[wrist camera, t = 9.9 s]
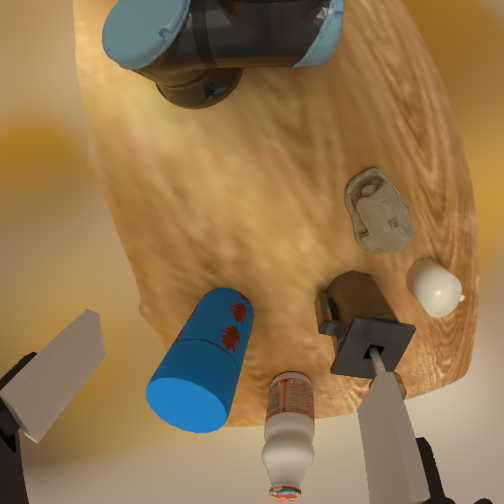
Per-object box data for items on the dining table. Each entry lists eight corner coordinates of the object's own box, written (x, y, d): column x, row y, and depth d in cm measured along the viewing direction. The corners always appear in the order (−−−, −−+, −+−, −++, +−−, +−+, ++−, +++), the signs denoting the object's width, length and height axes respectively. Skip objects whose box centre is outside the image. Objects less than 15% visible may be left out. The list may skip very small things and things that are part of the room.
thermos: (266, 313, 53) (246, 415, 29) (230, 345, 56) (196, 441, 32) (222, 275, 52) (171, 361, 28) (188, 310, 55) (131, 397, 31)
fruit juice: (310, 367, 56) (313, 484, 29) (314, 397, 58) (316, 503, 31) (266, 373, 57) (248, 486, 31) (274, 401, 60) (260, 506, 33)
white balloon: (414, 253, 46) (435, 271, 37) (453, 265, 45) (476, 282, 37) (400, 291, 48) (417, 314, 40) (439, 300, 48) (459, 321, 39)
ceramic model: (418, 228, 45) (443, 243, 35) (368, 262, 48) (385, 284, 38) (380, 159, 42) (402, 158, 33) (326, 194, 45) (336, 202, 36)
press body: (322, 263, 49) (336, 310, 32) (386, 278, 48) (421, 326, 32) (307, 312, 52) (311, 372, 36) (367, 324, 51) (390, 383, 35)
